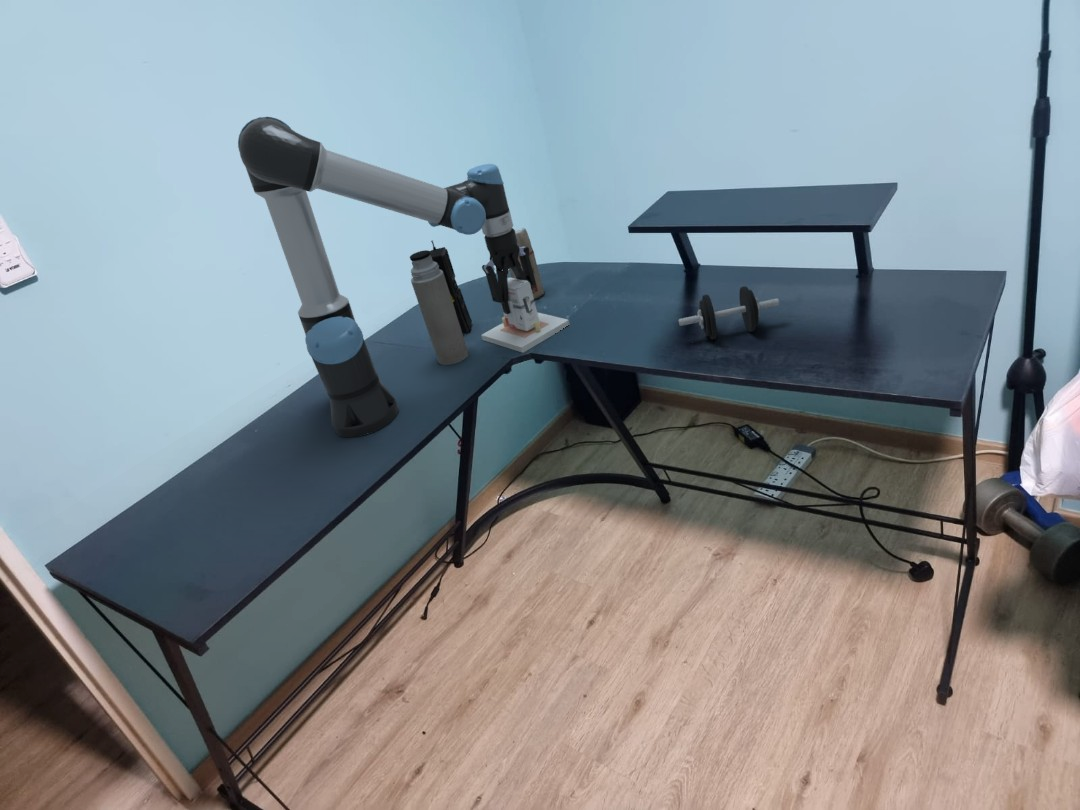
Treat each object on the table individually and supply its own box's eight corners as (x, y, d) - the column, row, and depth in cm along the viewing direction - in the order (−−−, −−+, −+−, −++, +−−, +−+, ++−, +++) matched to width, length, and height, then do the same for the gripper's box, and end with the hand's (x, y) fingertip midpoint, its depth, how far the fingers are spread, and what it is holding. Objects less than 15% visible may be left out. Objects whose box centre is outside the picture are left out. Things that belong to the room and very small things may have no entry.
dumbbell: (773, 314, 160) (770, 273, 156) (786, 332, 152) (783, 289, 147) (678, 334, 163) (672, 294, 158) (686, 353, 154) (680, 311, 149)
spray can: (512, 304, 203) (494, 237, 193) (521, 292, 209) (504, 226, 200) (540, 301, 200) (523, 232, 190) (548, 289, 206) (532, 222, 197)
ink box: (505, 326, 184) (494, 283, 178) (519, 319, 186) (509, 276, 181) (526, 332, 178) (516, 288, 172) (541, 324, 180) (531, 280, 175)
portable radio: (470, 334, 191) (443, 246, 178) (448, 339, 191) (420, 251, 179) (473, 322, 197) (447, 236, 185) (452, 327, 198) (425, 241, 186)
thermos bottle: (451, 348, 185) (418, 247, 172) (474, 351, 181) (442, 246, 167) (432, 363, 180) (396, 259, 166) (455, 366, 175) (420, 259, 162)
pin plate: (523, 352, 173) (519, 338, 171) (482, 340, 186) (478, 326, 184) (569, 325, 181) (566, 310, 179) (528, 314, 193) (524, 301, 191)
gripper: (478, 246, 163) (503, 336, 174) (536, 219, 172) (556, 306, 183) (460, 243, 168) (486, 331, 180) (517, 217, 177) (538, 302, 188)
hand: (521, 318), depth 181 cm, fingers closed on ink box, 5 cm apart
